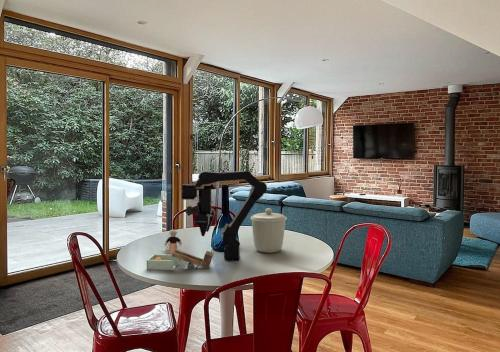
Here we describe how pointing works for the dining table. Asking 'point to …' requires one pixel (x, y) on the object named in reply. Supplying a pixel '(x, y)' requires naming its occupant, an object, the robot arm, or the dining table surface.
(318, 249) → the dining table surface
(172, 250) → the grandmother figurine
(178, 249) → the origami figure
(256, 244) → the canister
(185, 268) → the fulcrum
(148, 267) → the tray
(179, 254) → the brown wooden ramp
